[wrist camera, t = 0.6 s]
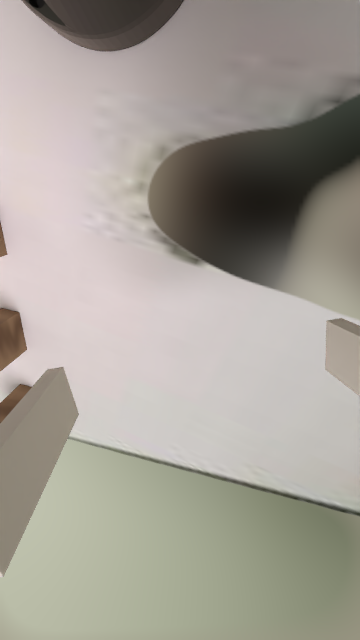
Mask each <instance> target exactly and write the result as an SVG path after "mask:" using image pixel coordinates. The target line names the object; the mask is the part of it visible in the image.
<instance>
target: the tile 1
mask: <svg viewBox="0 0 360 640" xmlns="http://www.w3.org/2000/svg"><path fill="white" fill-rule="evenodd" d="M4 255H7V252H6V247H5V242H4V237H3V232H2V227H1V223H0V257H1V256H4Z"/></svg>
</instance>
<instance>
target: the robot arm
mask: <svg viewBox="0 0 360 640" xmlns="http://www.w3.org/2000/svg"><path fill="white" fill-rule="evenodd" d="M22 1H23V2H24V3H25V5H26V6H27V7H28V8H29V9H30V10H31V11H33V12H34V13H35V14H36V15H37V16H38V17H39V18H41V19H42V20H43V21H44V22H45V23H47V24H48V25H49V26H50V27H52V28H53V29H54V30H55V31H56V32H58V33H59V34H60V35H62V36H63V37H65V38H66V39H68V40H70V41H71V42H73V43H75V44H77V45H80V46H82V47H85V48H88V49H93V50H99V51H115V50H121V49H125V48H128V47H131V46H133V45H136V44H138V43H140V42H142V41H143V40H145V39H147V38H148V37H150V36H151V35H152V34H154V33H155V32H156V31H157V30H158V29H160V28H161V27H162V26H163V25H164V24H165V23H166V22H167V21H168V20H169V18H170V17H171V16H172V15H173V14H174V12H175V11H176V10H177V8H178V7H179V6H180V4H181V3H182V1H183V0H22ZM325 370H327V371H328V372H329V373H330V374H332V375H333V376H334V377H336V378H337V379H338V380H339V381H341V382H342V383H343V384H345V385H346V386H347V387H348V388H350V389H351V390H352V391H354V392H355V393H356V394H358V395H359V396H360V326H359V325H356V324H354V323H352V322H349V321H347V320H345V319H342V318H340V319H334V320H328V321H327V325H326V363H325ZM78 415H79V413H78V410H77V407H76V404H75V401H74V398H73V395H72V392H71V389H70V386H69V383H68V380H67V377H66V374H65V371H64V368H63V367H60V368H54V369H48V370H47V371H46V372H45V373H44V374H43V375H42V376H41V377H40V379H39V380H38V381H37V382H36V383H35V384H34V385H33V387H32V388H31V389H30V390H29V391H28V392H27V394H26V395H25V396H24V397H23V398H22V399H21V400H20V402H19V403H18V404H17V405H16V406H15V407H14V408H13V410H12V411H11V412H10V413H9V414H8V415H7V417H6V418H5V419H4V420H3V421H2V422H1V423H0V577H3V576H4V574H5V572H6V570H7V568H8V566H9V563H10V561H11V559H12V557H13V555H14V553H15V551H16V549H17V546H18V544H19V542H20V540H21V538H22V535H23V533H24V531H25V529H26V527H27V525H28V523H29V520H30V518H31V516H32V514H33V512H34V510H35V508H36V505H37V503H38V501H39V499H40V497H41V494H42V492H43V490H44V488H45V486H46V484H47V482H48V479H49V477H50V475H51V473H52V471H53V469H54V467H55V464H56V462H57V460H58V458H59V456H60V454H61V451H62V449H63V447H64V445H65V443H66V441H67V439H68V436H69V434H70V432H71V430H72V428H73V426H74V423H75V421H76V419H77V417H78Z"/></svg>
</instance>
